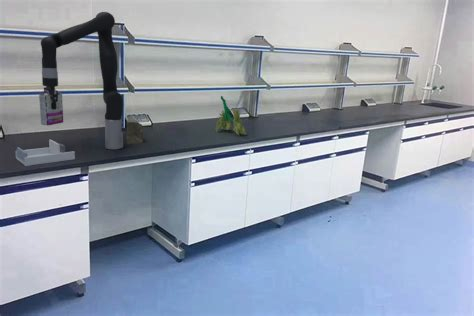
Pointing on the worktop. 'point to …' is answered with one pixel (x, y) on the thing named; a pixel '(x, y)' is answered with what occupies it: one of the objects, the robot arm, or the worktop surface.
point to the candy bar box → (50, 110)
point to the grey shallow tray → (41, 156)
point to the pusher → (56, 147)
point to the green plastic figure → (226, 123)
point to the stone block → (134, 132)
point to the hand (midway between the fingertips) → (51, 108)
